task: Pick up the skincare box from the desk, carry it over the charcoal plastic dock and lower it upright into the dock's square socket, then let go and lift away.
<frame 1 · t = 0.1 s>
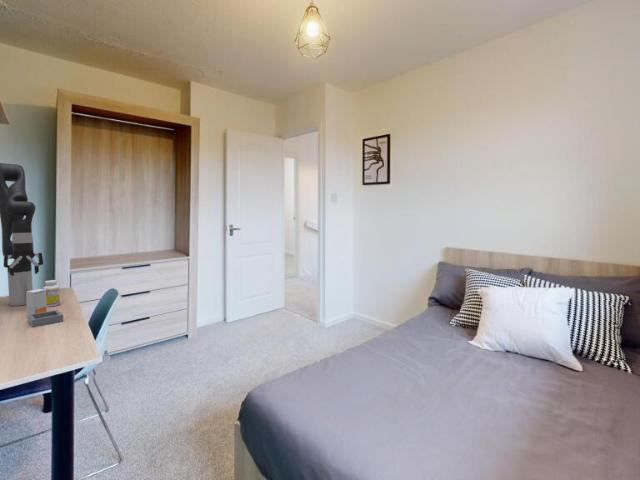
hand: (24, 274, 159), 17 cm above the table, tool pointing down, fingers open, 8 cm apart
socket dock: (45, 321, 143), on the table
supplement bottle: (51, 305, 167), on the table
skincare box: (37, 315, 151), on the table
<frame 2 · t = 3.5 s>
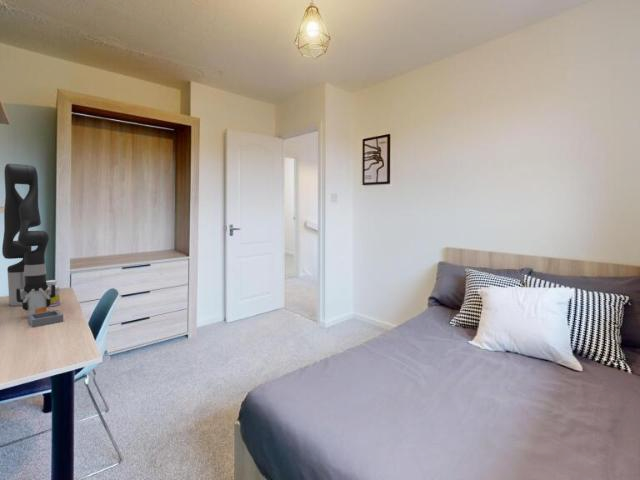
hand: (36, 308, 150), 3 cm above the table, tool pointing down, fingers closed on skincare box, 7 cm apart
skincare box: (37, 315, 151), on the table, touching gripper
everything else where it was.
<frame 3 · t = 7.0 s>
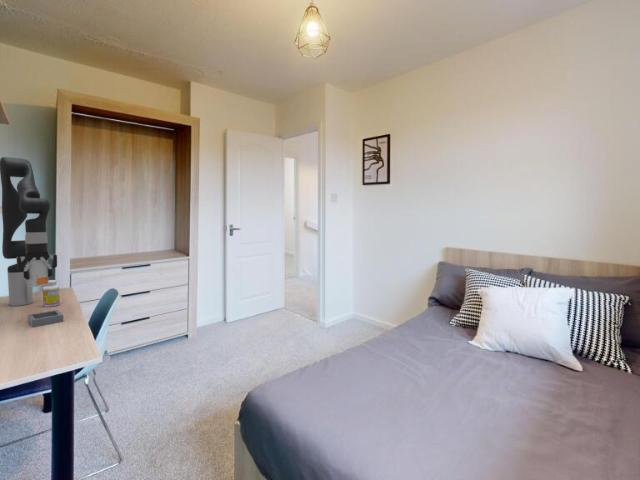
hand: (38, 278, 146), 18 cm above the table, tool pointing down, fingers closed on skincare box, 7 cm apart
skincare box: (38, 285, 147), point 15 cm above the table, touching gripper
everything else where it was.
when the fingers open (5 cm above the table, at t = 10.7 s): skincare box drops 1 cm, resting in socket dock.
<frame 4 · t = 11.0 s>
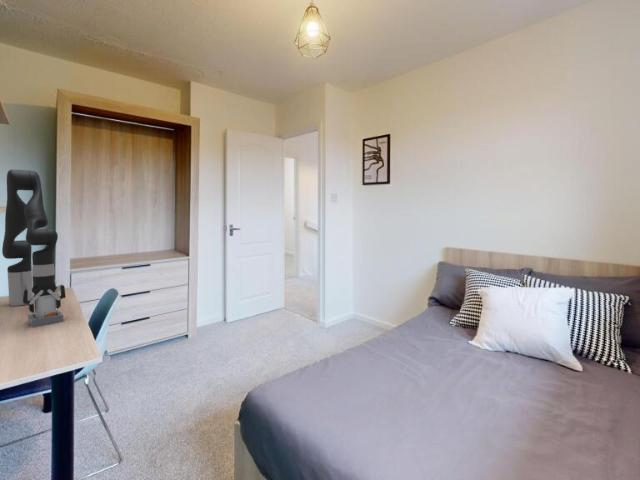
hand: (45, 310, 143), 5 cm above the table, tool pointing down, fingers open, 8 cm apart
skincare box: (46, 321, 143), resting in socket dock
everything else where it was.
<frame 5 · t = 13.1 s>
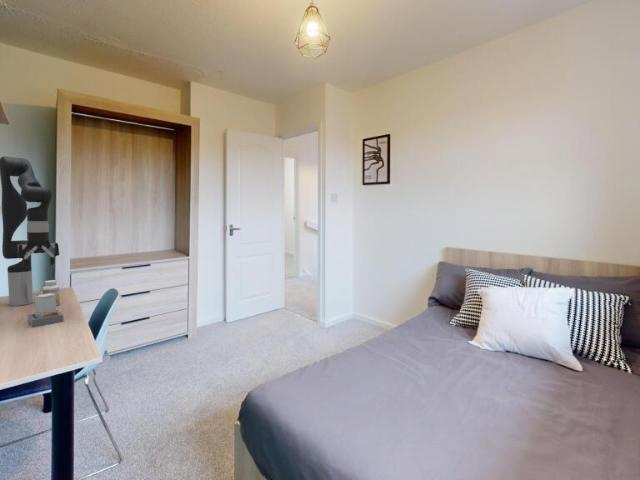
hand: (39, 266, 147), 24 cm above the table, tool pointing down, fingers open, 8 cm apart
nothing on the table moved.
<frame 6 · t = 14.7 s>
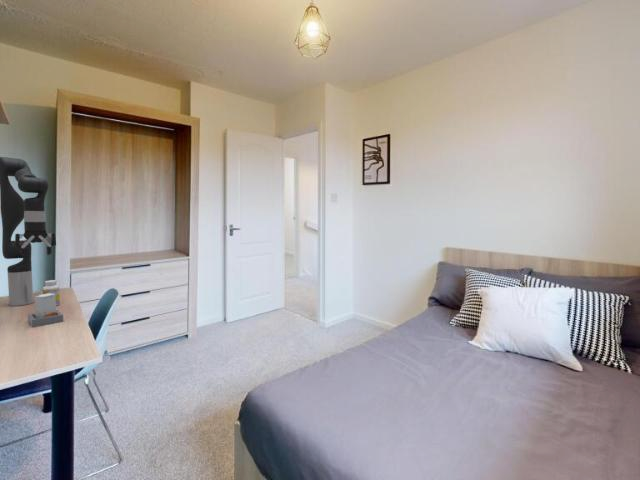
hand: (36, 255, 151), 28 cm above the table, tool pointing down, fingers open, 8 cm apart
nothing on the table moved.
at the end: skincare box 0.2 cm off-centre on the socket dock, point 0.0 cm above the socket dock's base; skincare box tilted 0°; the gripper is holding nothing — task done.
